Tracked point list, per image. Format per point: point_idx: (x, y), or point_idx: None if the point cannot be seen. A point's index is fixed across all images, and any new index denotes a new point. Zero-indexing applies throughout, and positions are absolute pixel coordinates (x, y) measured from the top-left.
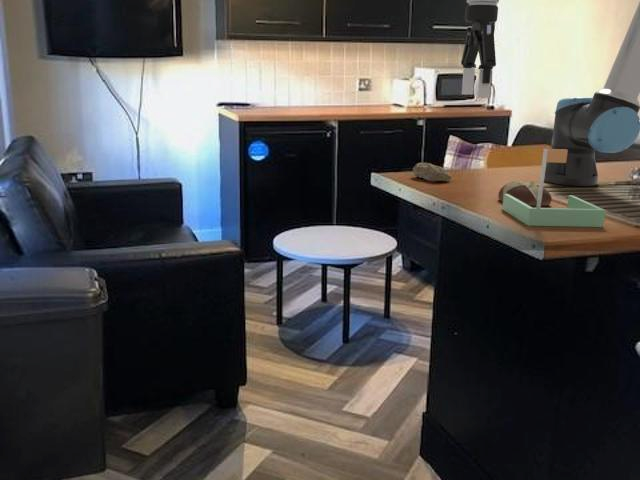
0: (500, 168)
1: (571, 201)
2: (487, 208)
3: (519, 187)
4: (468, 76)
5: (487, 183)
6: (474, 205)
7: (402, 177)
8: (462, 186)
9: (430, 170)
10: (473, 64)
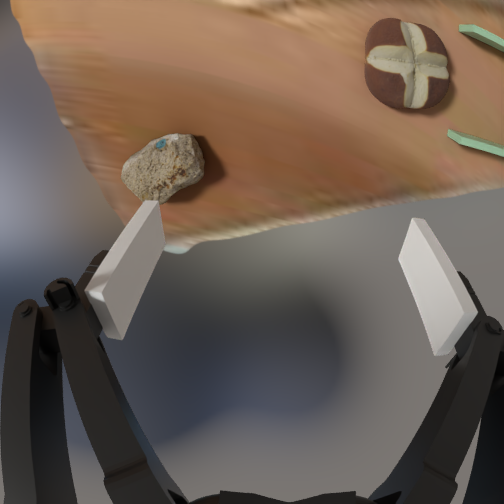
0: (22, 15)
1: (479, 36)
2: (438, 156)
3: (433, 91)
4: (131, 284)
5: (192, 53)
6: (418, 167)
7: (162, 214)
8: (239, 119)
9: (189, 183)
10: (87, 317)
